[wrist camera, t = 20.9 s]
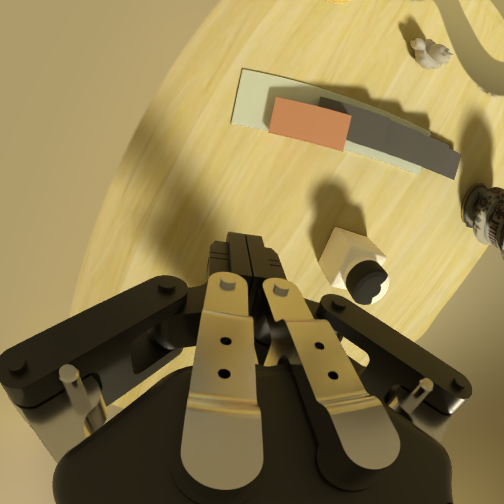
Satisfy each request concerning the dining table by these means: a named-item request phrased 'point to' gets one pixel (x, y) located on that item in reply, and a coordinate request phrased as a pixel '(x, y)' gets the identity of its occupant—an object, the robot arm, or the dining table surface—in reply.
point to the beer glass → (339, 1)
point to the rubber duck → (430, 53)
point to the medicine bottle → (355, 266)
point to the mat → (269, 87)
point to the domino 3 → (401, 142)
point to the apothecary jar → (485, 214)
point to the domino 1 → (309, 123)
